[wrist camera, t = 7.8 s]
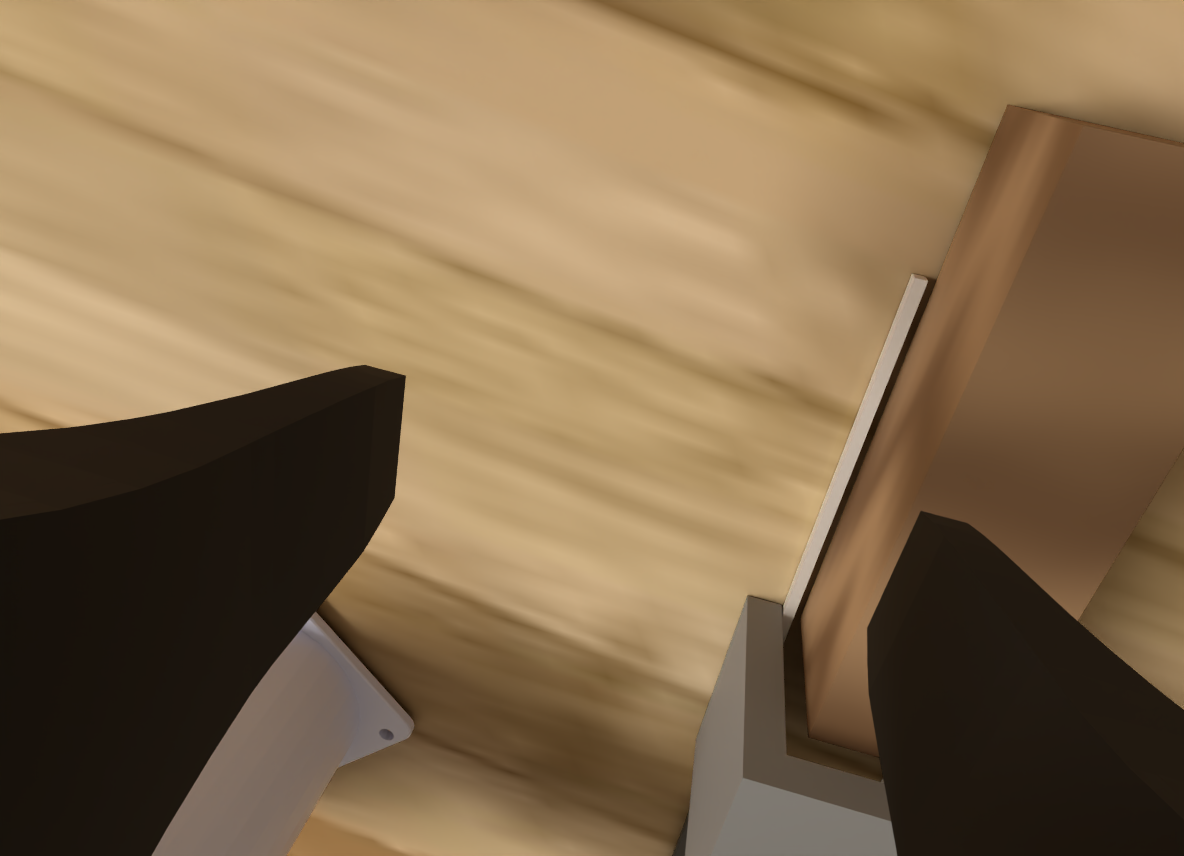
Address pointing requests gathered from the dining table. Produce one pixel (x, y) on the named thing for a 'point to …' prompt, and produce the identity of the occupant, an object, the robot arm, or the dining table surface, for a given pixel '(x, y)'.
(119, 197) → the dining table surface
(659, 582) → the dining table surface
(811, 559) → the tunnel
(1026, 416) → the block
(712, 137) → the dining table surface
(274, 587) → the robot arm
